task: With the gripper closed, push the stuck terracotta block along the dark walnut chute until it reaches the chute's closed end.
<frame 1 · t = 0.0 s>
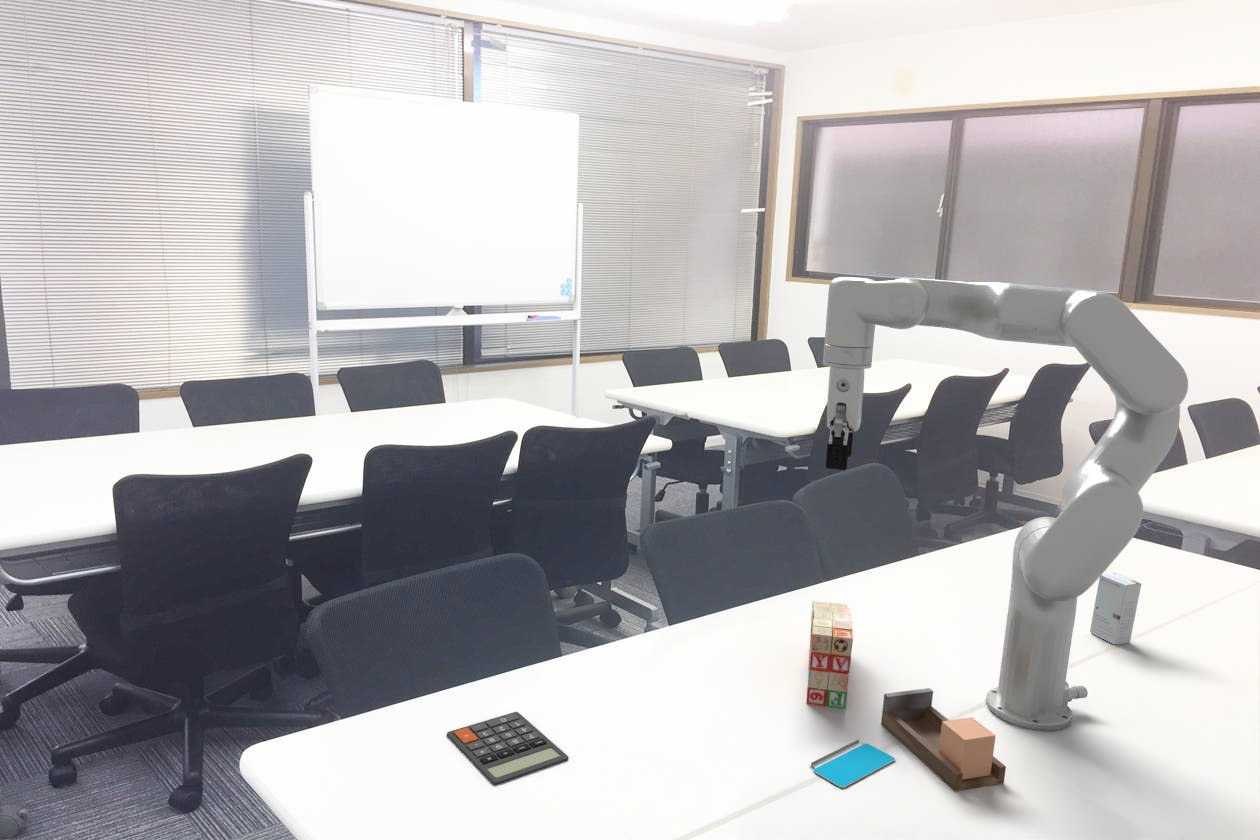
hand: (838, 461, 150), 37 cm above the table, tool pointing down, fingers open, 9 cm apart
block: (966, 748, 129), point 4 cm above the table, slide at 0.0 cm
chute: (939, 751, 135), on the table
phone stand: (864, 779, 129), on the table
skincare box: (1110, 638, 178), on the table
stack of blocks: (826, 678, 157), on the table
calculator: (506, 750, 132), on the table
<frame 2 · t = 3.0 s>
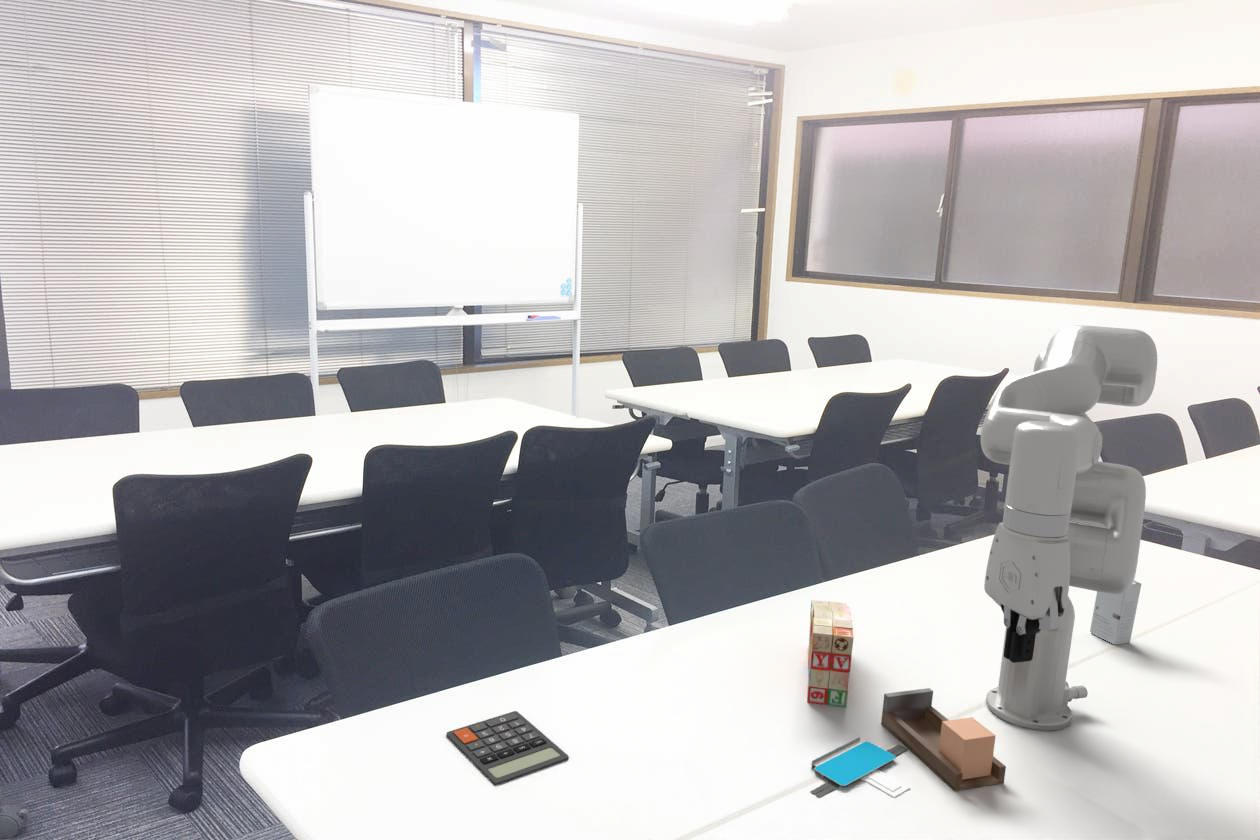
hand: (1017, 658, 119), 21 cm above the table, tool pointing down, fingers closed
nothing on the table moved.
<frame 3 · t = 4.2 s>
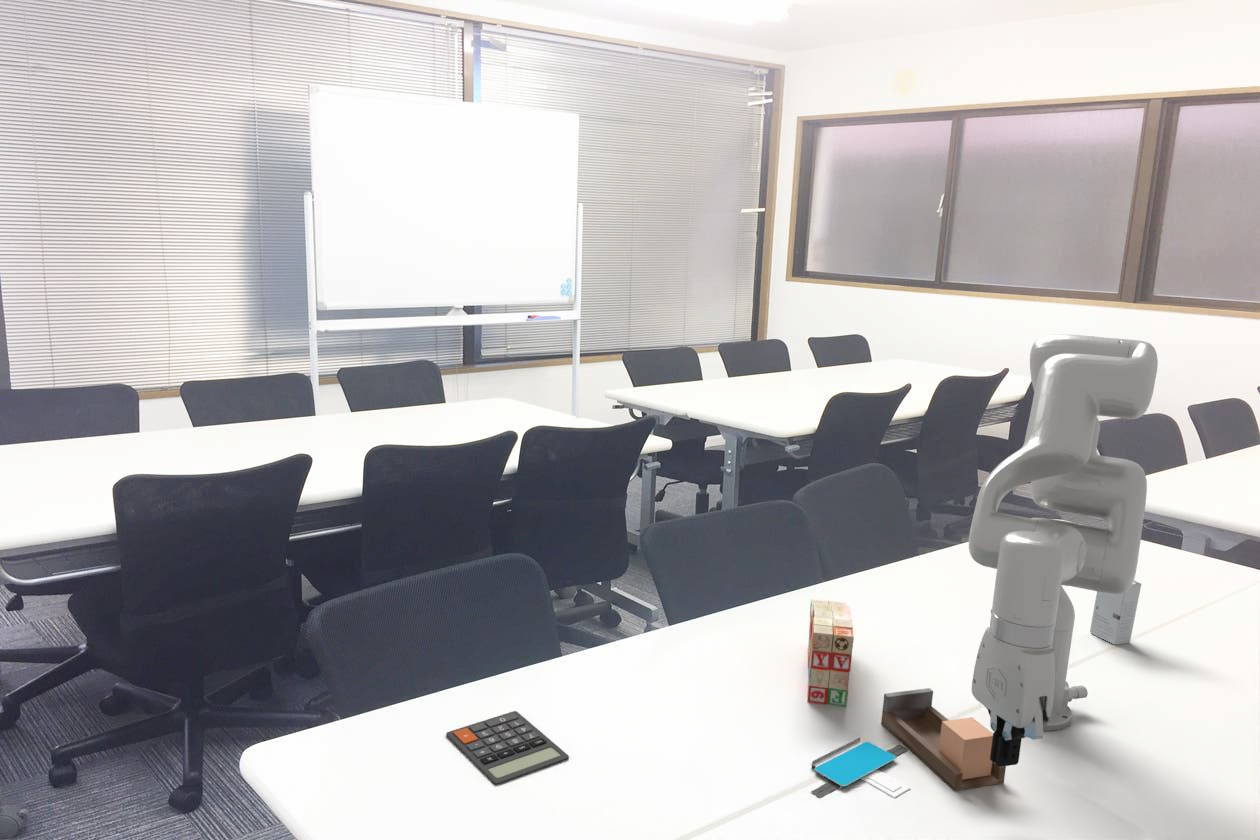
hand: (1003, 762, 121), 6 cm above the table, tool pointing down, fingers closed
nothing on the table moved.
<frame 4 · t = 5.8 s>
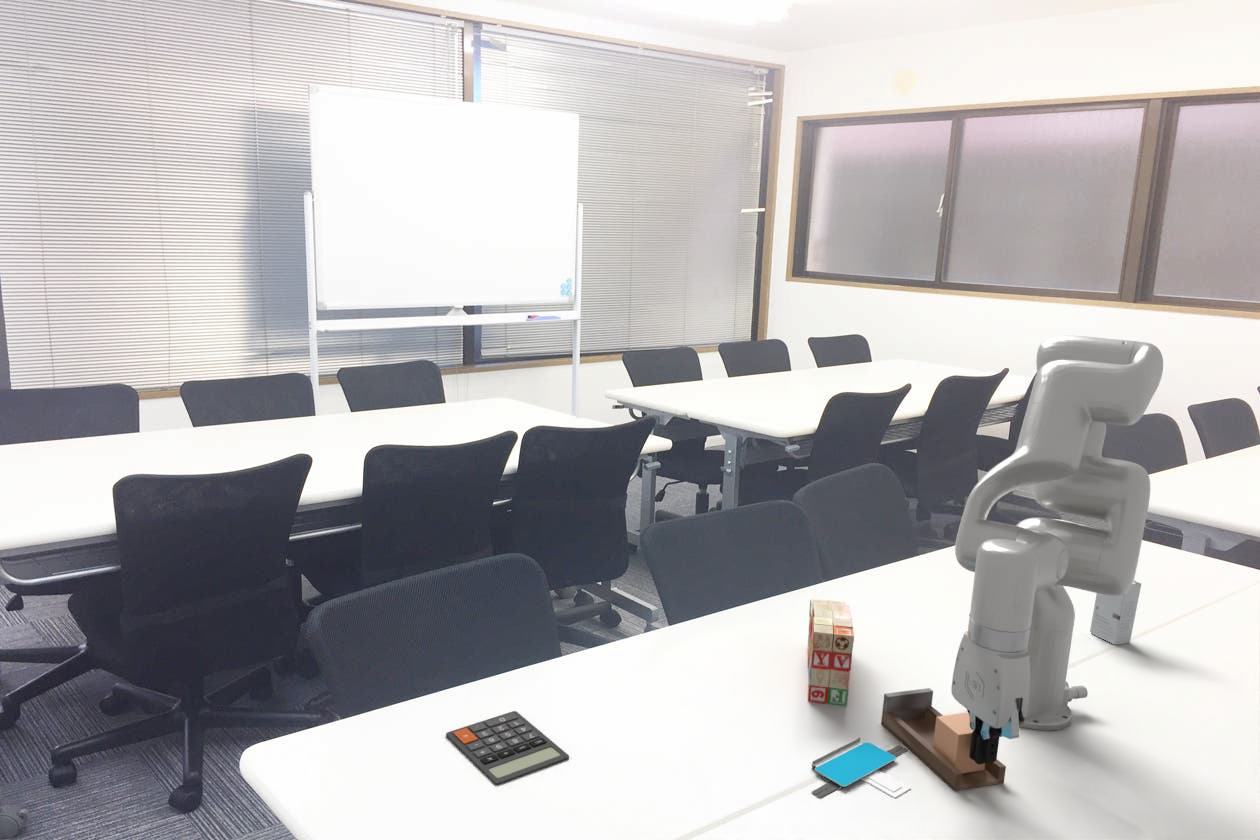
hand: (982, 759, 126), 4 cm above the table, tool pointing down, fingers closed
block: (960, 743, 130), point 4 cm above the table, slide at 1.3 cm, touching gripper
everything else where it was.
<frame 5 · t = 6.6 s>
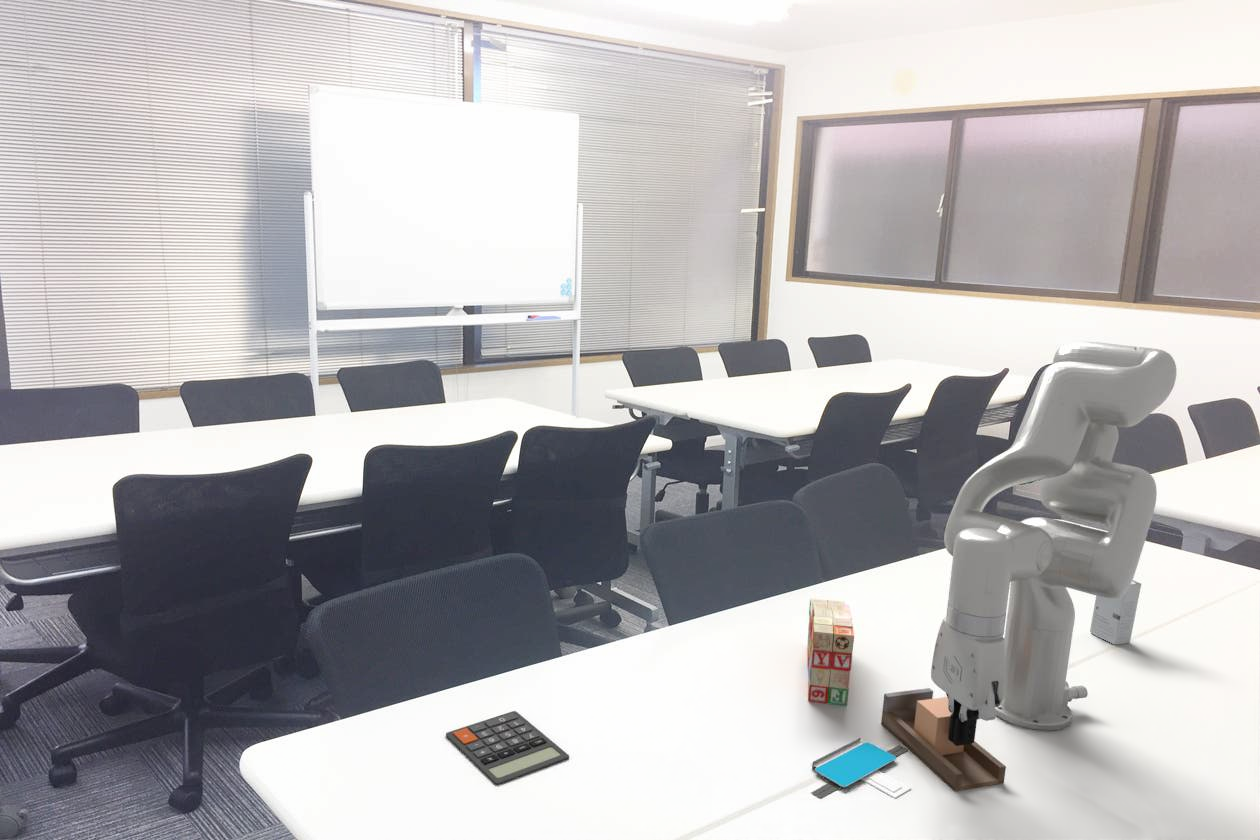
hand: (960, 741, 130), 4 cm above the table, tool pointing down, fingers closed
block: (939, 726, 135), point 4 cm above the table, slide at 6.0 cm, touching gripper
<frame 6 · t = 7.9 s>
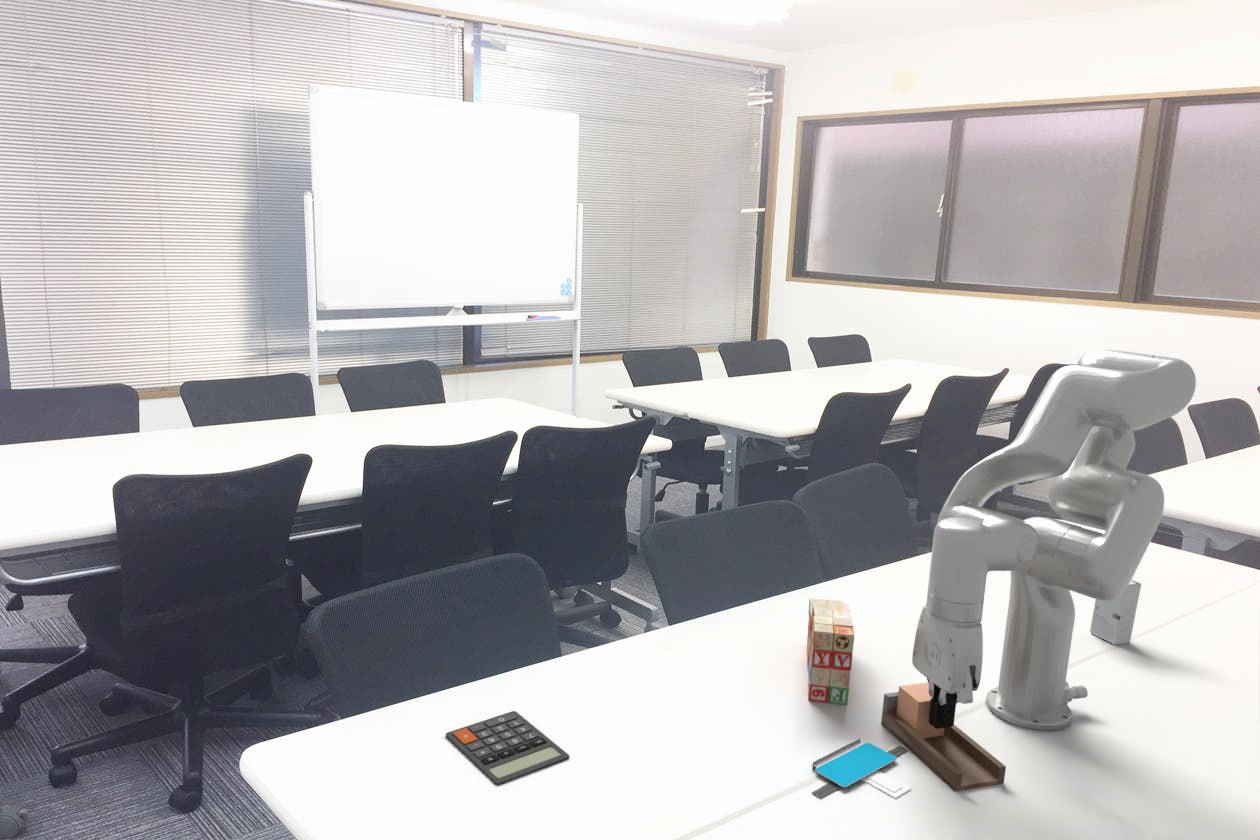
hand: (940, 724, 135), 4 cm above the table, tool pointing down, fingers closed
block: (921, 710, 139), point 4 cm above the table, slide at 10.6 cm, touching gripper
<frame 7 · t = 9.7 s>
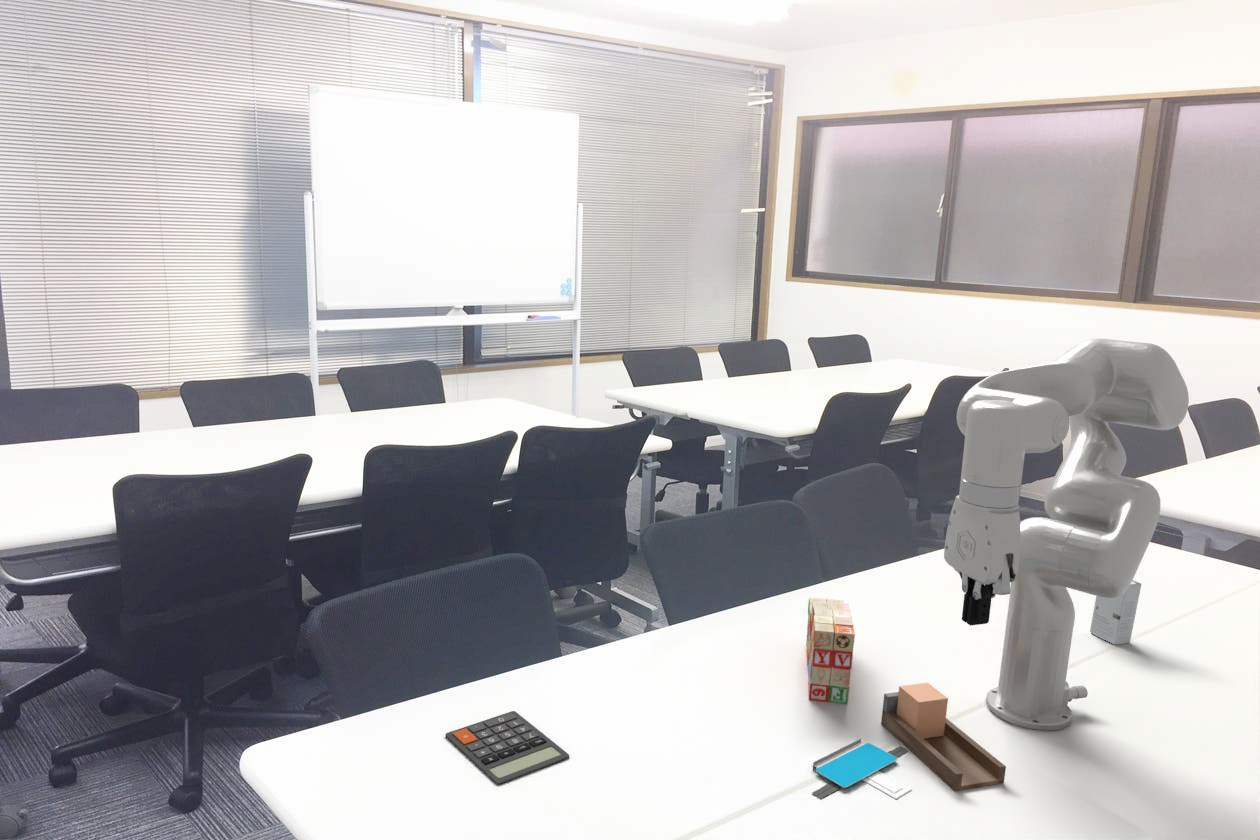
hand: (975, 621, 127), 22 cm above the table, tool pointing down, fingers closed
block: (921, 710, 139), point 4 cm above the table, slide at 10.5 cm
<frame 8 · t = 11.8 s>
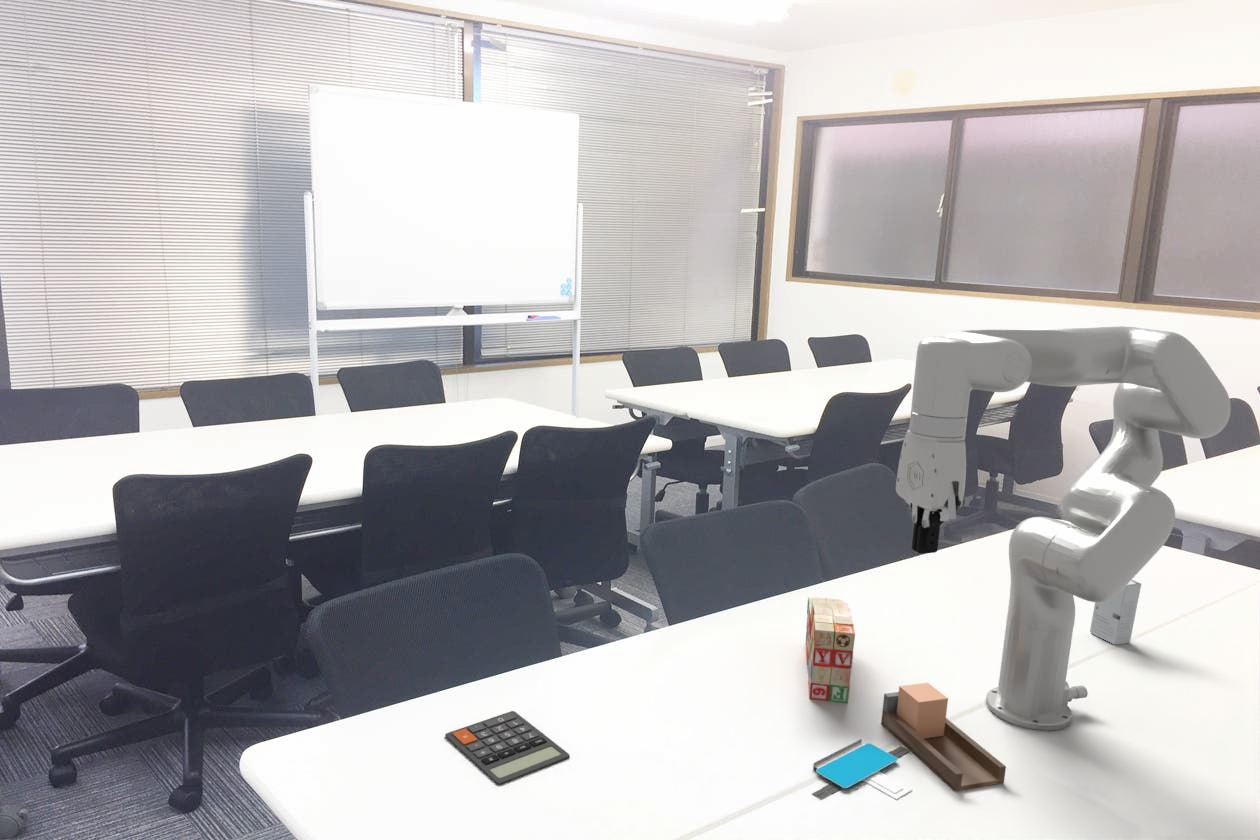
hand: (924, 550, 133), 29 cm above the table, tool pointing down, fingers closed
at the end: block slide at 10.5 cm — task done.
